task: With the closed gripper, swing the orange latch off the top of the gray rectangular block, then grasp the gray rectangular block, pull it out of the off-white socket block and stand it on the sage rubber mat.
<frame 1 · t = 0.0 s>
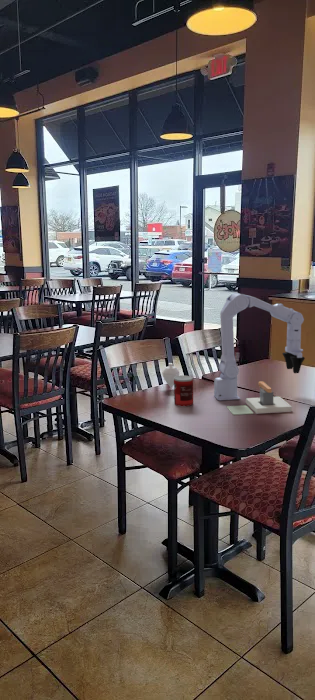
hand: (292, 370, 219), 10 cm above the table, tool pointing down, fingers open, 7 cm apart
latch: (265, 386, 203), point 8 cm above the table, hinge at 0.0°
socket block: (265, 407, 203), on the table
spinning top: (171, 389, 233), on the table
mat: (239, 410, 200), on the table
gray rectangular block: (266, 408, 202), resting in socket block
canned food: (183, 404, 211), on the table
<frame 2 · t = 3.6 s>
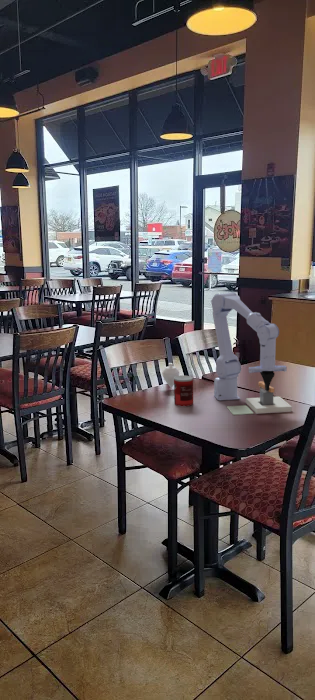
hand: (267, 390, 200), 8 cm above the table, tool pointing down, fingers closed, pressing on latch
latch: (266, 386, 203), point 8 cm above the table, hinge at 6.7°, touching gripper
everything else where it was.
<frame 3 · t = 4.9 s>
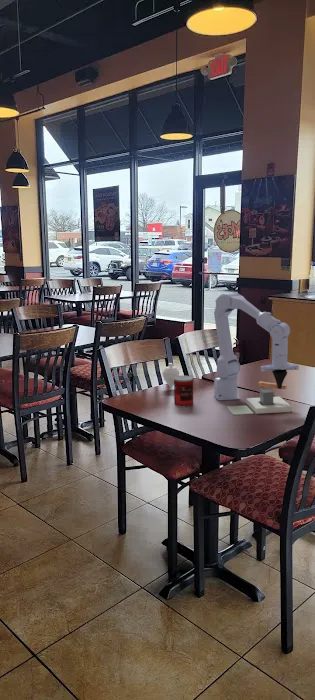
hand: (279, 388, 201), 8 cm above the table, tool pointing down, fingers closed, pressing on latch
latch: (272, 385, 205), point 8 cm above the table, hinge at 51.3°, touching gripper
everything else where it was.
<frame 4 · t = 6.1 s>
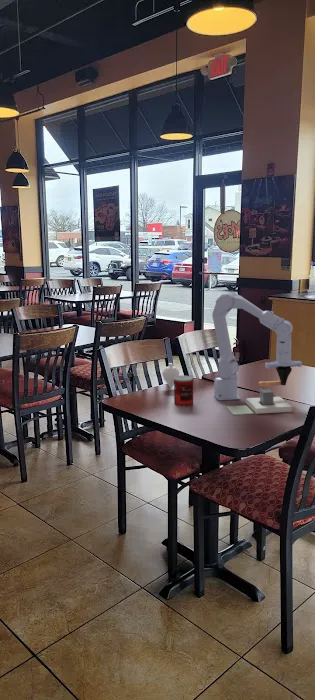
hand: (283, 384, 207), 8 cm above the table, tool pointing down, fingers closed, pressing on latch
latch: (272, 383, 208), point 8 cm above the table, hinge at 92.9°, touching gripper
everything else where it was.
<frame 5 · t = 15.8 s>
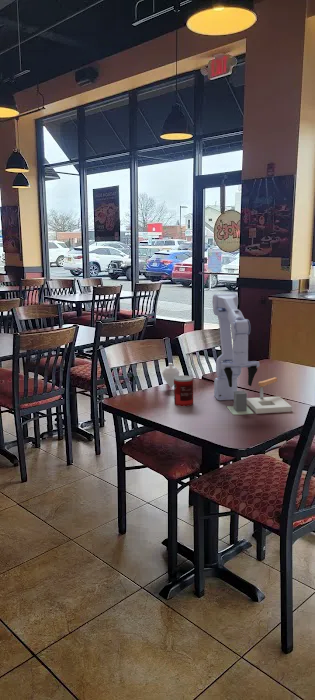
hand: (240, 385, 198), 10 cm above the table, tool pointing down, fingers open, 7 cm apart
latch: (268, 381, 210), point 8 cm above the table, hinge at 127.0°
gray rectangular block: (240, 409, 200), resting on mat
everything else where it was.
at the end: latch at +127° (first picture: +0°); gray rectangular block inside the target area on the mat (0.1 cm from its centre), point 0.3 cm above the mat's base; gray rectangular block tilted 0° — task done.
